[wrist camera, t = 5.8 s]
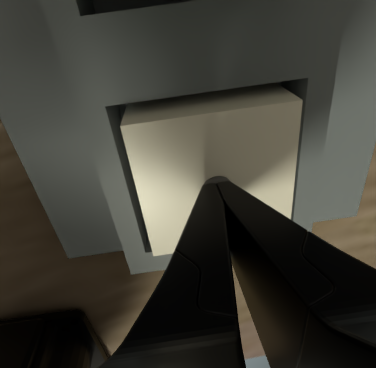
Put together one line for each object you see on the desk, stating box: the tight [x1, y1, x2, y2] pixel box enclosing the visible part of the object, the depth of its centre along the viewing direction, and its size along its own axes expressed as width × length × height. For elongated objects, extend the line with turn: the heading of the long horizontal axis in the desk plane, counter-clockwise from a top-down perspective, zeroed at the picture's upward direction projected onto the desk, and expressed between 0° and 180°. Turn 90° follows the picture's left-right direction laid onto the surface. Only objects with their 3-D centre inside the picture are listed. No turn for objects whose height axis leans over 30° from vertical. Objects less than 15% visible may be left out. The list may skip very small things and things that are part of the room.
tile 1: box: [120, 82, 303, 256], centre depth 10 cm, size 5×5×2 cm
